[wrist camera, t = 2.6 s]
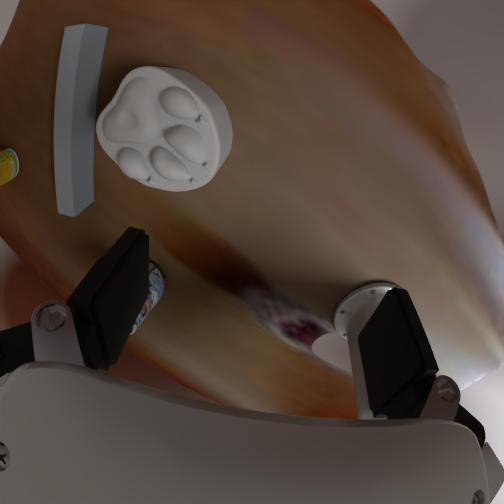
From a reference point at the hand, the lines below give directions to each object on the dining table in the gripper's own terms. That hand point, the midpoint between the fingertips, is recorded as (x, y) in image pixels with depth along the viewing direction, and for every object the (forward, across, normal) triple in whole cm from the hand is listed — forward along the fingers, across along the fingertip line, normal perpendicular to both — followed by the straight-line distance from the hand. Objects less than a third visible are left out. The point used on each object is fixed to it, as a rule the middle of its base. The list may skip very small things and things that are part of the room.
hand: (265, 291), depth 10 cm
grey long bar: (+23, +24, 0) cm, 34 cm away
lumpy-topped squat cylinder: (+24, +11, 0) cm, 26 cm away
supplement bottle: (+24, +42, +8) cm, 49 cm away
